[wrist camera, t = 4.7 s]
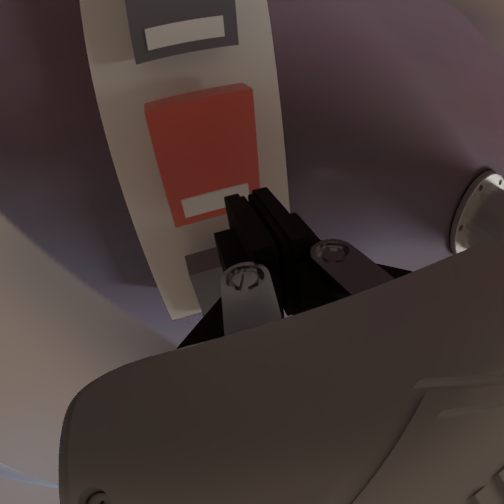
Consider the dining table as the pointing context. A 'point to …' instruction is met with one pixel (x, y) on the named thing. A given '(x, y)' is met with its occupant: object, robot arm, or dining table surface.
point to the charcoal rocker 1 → (180, 26)
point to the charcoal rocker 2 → (205, 277)
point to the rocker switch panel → (139, 141)
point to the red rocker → (204, 149)
